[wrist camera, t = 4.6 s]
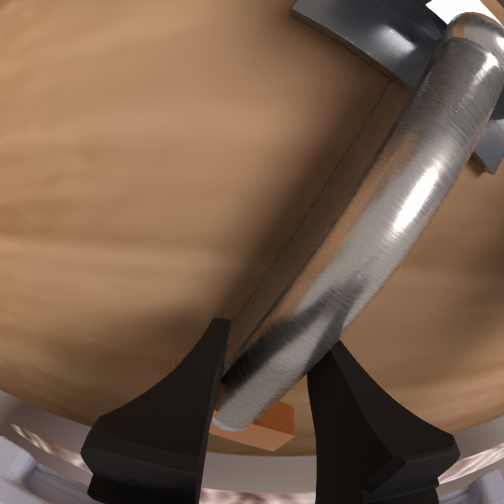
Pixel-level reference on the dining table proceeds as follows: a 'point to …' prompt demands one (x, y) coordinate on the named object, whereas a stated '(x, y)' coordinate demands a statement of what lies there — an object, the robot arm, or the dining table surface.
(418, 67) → the grey hammer
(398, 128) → the metal rod with plate
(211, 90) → the dining table surface
